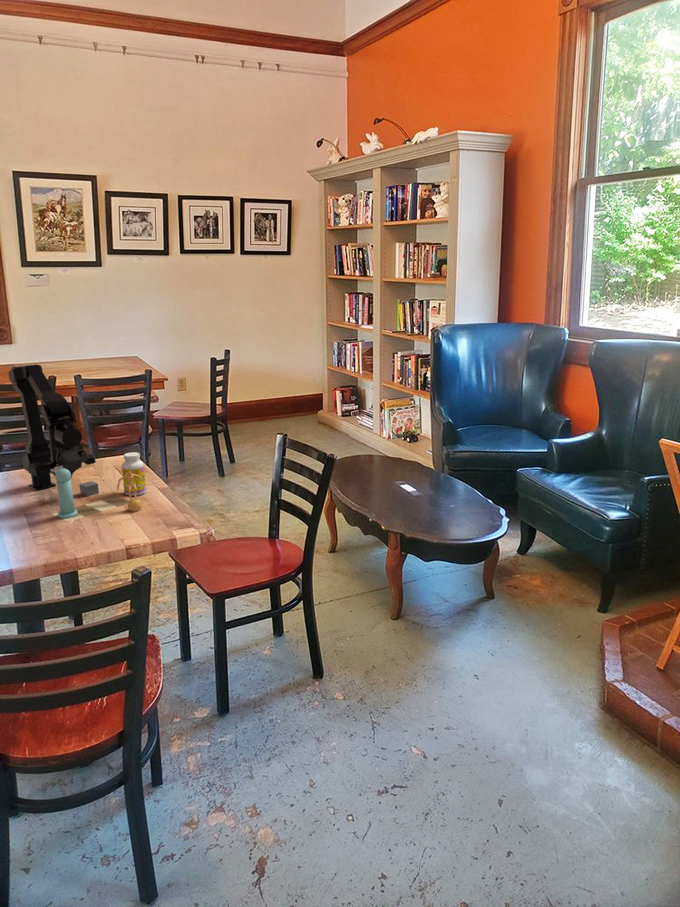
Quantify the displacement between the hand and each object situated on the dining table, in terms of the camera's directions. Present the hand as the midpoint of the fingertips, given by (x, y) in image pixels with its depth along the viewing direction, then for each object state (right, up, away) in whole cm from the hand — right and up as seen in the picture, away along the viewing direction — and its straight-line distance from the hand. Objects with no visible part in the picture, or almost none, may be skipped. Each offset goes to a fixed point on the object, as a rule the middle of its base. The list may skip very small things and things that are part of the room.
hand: (66, 490), depth 208 cm
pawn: (+6, -6, -12) cm, 15 cm away
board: (+11, -5, -6) cm, 14 cm away
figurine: (+23, -6, -7) cm, 25 cm away
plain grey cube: (+5, -2, +6) cm, 8 cm away
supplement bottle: (+19, -1, +8) cm, 21 cm away
